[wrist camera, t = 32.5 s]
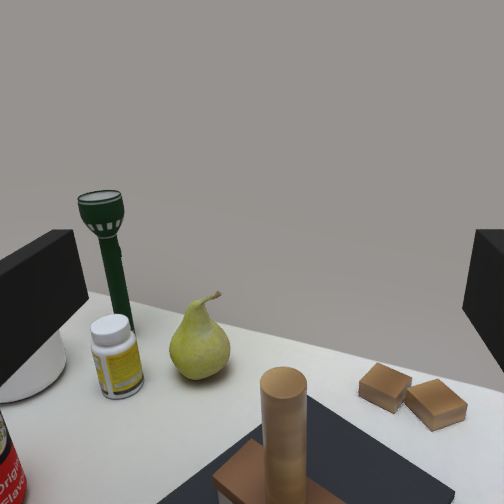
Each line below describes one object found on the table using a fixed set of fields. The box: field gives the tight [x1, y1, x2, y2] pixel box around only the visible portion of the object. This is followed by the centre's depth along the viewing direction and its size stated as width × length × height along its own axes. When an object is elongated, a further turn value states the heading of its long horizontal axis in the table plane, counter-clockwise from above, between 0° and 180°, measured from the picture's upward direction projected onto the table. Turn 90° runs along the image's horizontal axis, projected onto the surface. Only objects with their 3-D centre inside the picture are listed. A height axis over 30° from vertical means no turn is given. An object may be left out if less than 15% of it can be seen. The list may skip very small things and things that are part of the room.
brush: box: [212, 367, 346, 504], centre depth 27 cm, size 10×4×14 cm, turn 48°
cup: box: [0, 329, 66, 403], centre depth 47 cm, size 10×10×10 cm
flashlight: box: [78, 190, 135, 334], centre depth 52 cm, size 5×5×20 cm
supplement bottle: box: [90, 314, 144, 399], centre depth 45 cm, size 5×5×8 cm
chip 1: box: [359, 363, 412, 413], centre depth 43 cm, size 4×4×2 cm
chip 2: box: [405, 379, 468, 431], centre depth 41 cm, size 4×4×2 cm
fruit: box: [169, 291, 230, 380], centre depth 46 cm, size 7×8×12 cm
